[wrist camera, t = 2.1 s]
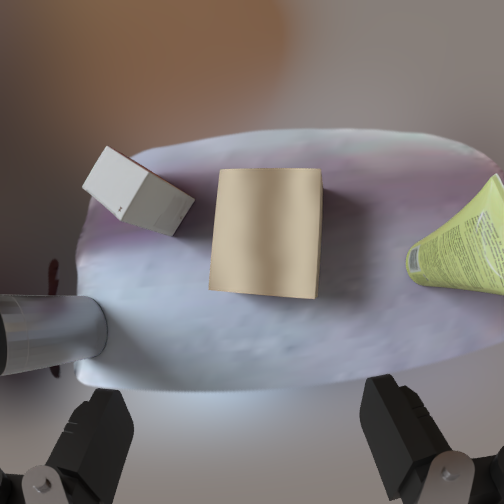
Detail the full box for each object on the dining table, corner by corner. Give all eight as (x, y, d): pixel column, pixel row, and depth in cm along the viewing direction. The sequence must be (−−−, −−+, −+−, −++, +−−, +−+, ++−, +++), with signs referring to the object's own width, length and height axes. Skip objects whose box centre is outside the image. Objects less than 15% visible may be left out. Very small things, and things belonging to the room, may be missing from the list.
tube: (455, 254, 29) (562, 219, 10) (439, 296, 29) (544, 303, 10) (413, 233, 31) (496, 171, 12) (397, 275, 31) (474, 260, 12)
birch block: (228, 289, 35) (208, 289, 30) (237, 187, 36) (220, 169, 31) (317, 296, 33) (314, 298, 27) (323, 188, 34) (320, 168, 28)
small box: (196, 200, 38) (151, 171, 27) (172, 238, 38) (120, 222, 28) (154, 172, 40) (106, 143, 30) (132, 207, 40) (80, 187, 30)
